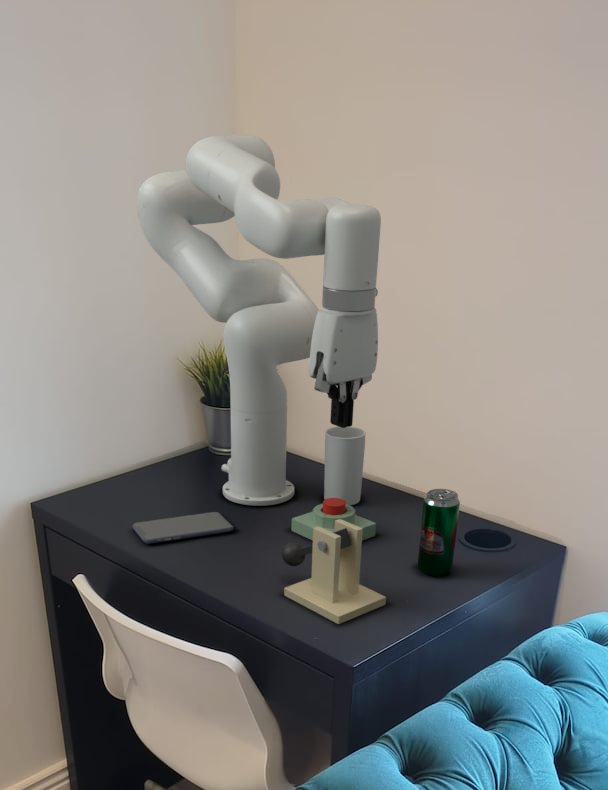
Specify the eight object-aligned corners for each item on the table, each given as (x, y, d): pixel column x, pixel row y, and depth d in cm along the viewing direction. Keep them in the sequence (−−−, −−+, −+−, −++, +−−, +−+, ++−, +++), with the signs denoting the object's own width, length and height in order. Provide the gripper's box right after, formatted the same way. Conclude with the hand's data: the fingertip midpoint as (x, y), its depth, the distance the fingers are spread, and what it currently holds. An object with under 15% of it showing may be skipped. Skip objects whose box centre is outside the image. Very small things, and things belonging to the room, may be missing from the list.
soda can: (410, 570, 143) (417, 493, 137) (430, 560, 146) (438, 484, 140) (438, 581, 140) (446, 503, 134) (458, 570, 143) (467, 493, 137)
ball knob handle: (281, 570, 139) (274, 548, 139) (299, 564, 141) (291, 542, 141) (338, 553, 128) (330, 529, 128) (356, 547, 130) (348, 523, 130)
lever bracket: (283, 595, 136) (285, 524, 131) (330, 577, 141) (333, 508, 136) (338, 624, 129) (342, 550, 123) (385, 604, 134) (391, 532, 128)
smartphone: (235, 527, 155) (144, 540, 150) (235, 532, 155) (145, 546, 150) (218, 510, 161) (131, 522, 156) (218, 516, 161) (131, 528, 156)
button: (317, 511, 153) (318, 501, 153) (334, 506, 155) (334, 496, 155) (333, 518, 151) (334, 507, 150) (350, 512, 153) (350, 502, 152)
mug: (367, 505, 166) (371, 436, 160) (329, 508, 164) (332, 439, 158) (348, 484, 174) (351, 419, 168) (312, 488, 173) (314, 422, 167)
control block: (291, 530, 156) (291, 507, 154) (331, 517, 161) (332, 494, 159) (334, 550, 149) (335, 526, 147) (375, 535, 154) (376, 512, 152)
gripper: (367, 289, 145) (359, 410, 154) (291, 301, 137) (287, 428, 146) (404, 298, 140) (393, 422, 149) (328, 310, 132) (321, 441, 141)
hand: (341, 424), depth 148 cm, fingers closed
